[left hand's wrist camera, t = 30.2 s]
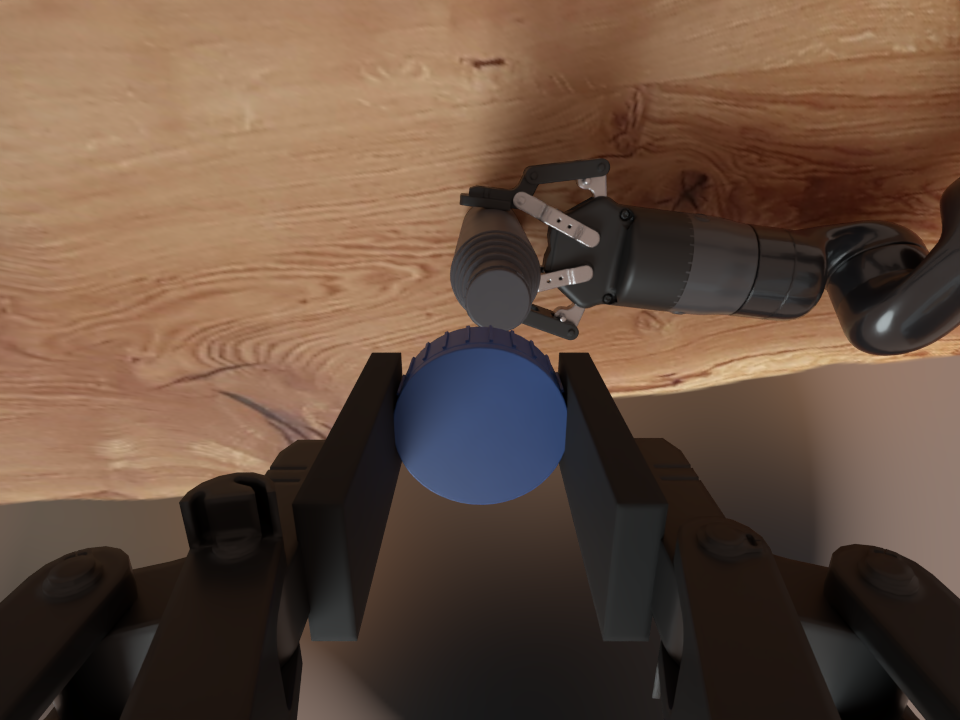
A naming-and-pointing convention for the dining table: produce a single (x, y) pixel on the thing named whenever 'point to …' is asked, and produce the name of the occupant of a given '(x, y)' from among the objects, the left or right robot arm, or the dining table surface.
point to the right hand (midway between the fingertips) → (457, 236)
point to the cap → (480, 416)
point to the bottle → (494, 269)
